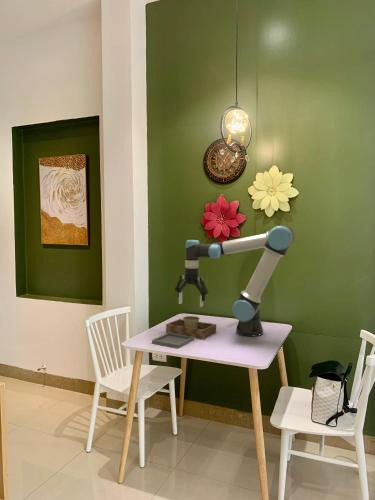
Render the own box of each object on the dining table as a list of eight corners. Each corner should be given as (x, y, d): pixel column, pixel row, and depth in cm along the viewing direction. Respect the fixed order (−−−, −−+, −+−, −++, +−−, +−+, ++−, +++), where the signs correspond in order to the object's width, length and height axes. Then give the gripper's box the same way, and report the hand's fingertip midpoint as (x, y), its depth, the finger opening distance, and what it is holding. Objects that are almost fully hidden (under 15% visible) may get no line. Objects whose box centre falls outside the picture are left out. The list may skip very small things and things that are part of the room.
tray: (194, 340, 205) (194, 337, 205) (178, 348, 191) (178, 345, 191) (168, 335, 213) (168, 332, 213) (151, 343, 199) (151, 340, 199)
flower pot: (200, 331, 223) (200, 316, 222) (198, 335, 213) (199, 320, 213) (183, 330, 224) (183, 315, 223) (181, 335, 214) (182, 319, 214)
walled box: (216, 333, 219) (216, 324, 219) (203, 339, 206) (204, 330, 206) (179, 327, 231) (179, 318, 231) (166, 333, 218) (166, 324, 218)
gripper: (214, 268, 213) (213, 306, 215) (176, 265, 226) (175, 301, 227) (208, 270, 207) (207, 309, 208) (169, 266, 219) (168, 303, 221)
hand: (190, 305), depth 218 cm, fingers open, 13 cm apart
